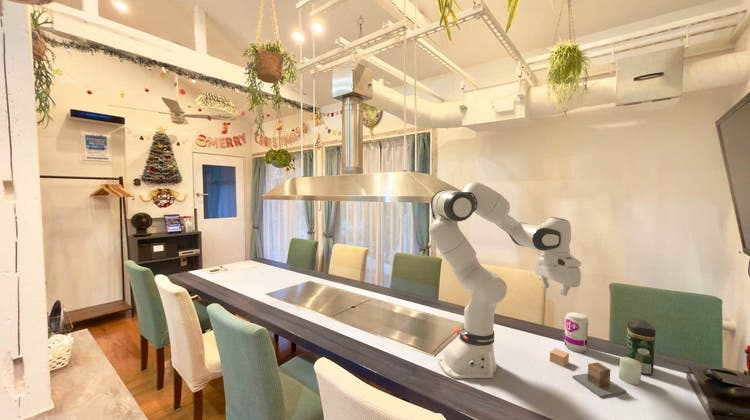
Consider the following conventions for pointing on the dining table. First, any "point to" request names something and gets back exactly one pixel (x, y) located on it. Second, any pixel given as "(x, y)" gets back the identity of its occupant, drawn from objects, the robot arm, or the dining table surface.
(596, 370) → the walnut block
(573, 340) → the supplement can
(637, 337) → the coffee jar
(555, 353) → the terracotta block
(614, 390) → the coaster
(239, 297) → the dining table surface
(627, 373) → the pale green capsule
